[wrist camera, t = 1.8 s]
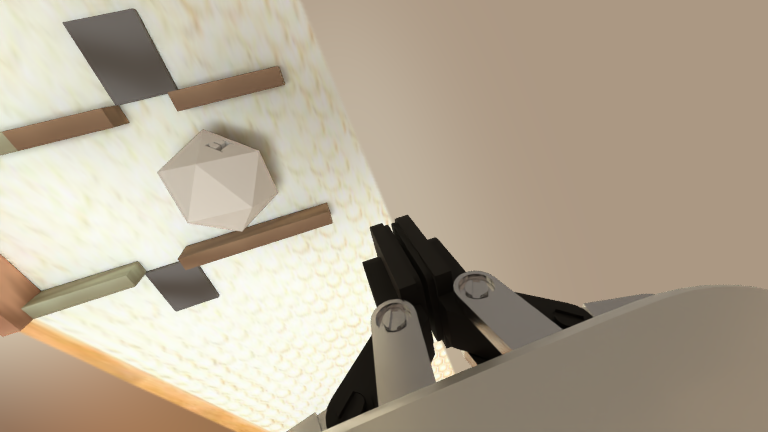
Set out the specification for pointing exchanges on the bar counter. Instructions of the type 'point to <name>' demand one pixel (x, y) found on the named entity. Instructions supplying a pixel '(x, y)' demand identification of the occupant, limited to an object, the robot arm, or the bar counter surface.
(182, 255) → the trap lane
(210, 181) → the die
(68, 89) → the bar counter surface
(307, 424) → the robot arm
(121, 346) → the bar counter surface
